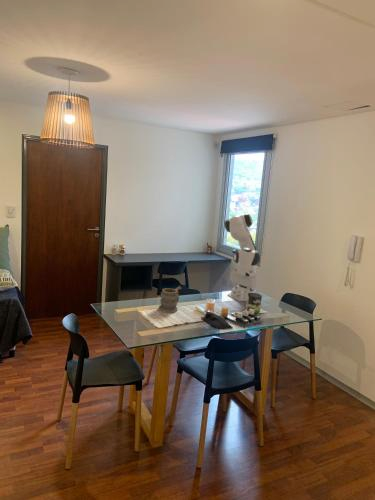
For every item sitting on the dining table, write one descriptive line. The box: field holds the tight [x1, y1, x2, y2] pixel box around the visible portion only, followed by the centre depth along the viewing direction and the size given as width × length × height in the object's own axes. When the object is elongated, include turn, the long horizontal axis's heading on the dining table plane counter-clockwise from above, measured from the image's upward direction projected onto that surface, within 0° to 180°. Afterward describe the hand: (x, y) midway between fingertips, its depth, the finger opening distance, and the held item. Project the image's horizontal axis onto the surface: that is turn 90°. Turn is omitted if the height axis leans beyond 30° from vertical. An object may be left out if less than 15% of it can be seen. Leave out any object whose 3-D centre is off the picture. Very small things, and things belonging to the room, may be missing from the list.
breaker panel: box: [223, 311, 263, 328], centre depth 251 cm, size 17×20×4 cm
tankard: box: [158, 285, 182, 314], centre depth 260 cm, size 20×13×15 cm, turn 143°
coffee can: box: [245, 292, 263, 316], centre depth 268 cm, size 10×10×14 cm
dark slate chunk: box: [200, 311, 234, 329], centre depth 242 cm, size 15×22×5 cm
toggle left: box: [236, 311, 243, 318], centre depth 245 cm, size 3×2×3 cm
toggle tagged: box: [242, 309, 249, 316], centre depth 250 cm, size 3×2×3 cm
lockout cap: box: [220, 306, 229, 319], centre depth 255 cm, size 4×4×6 cm
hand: (241, 291), depth 252 cm, fingers open, 8 cm apart
